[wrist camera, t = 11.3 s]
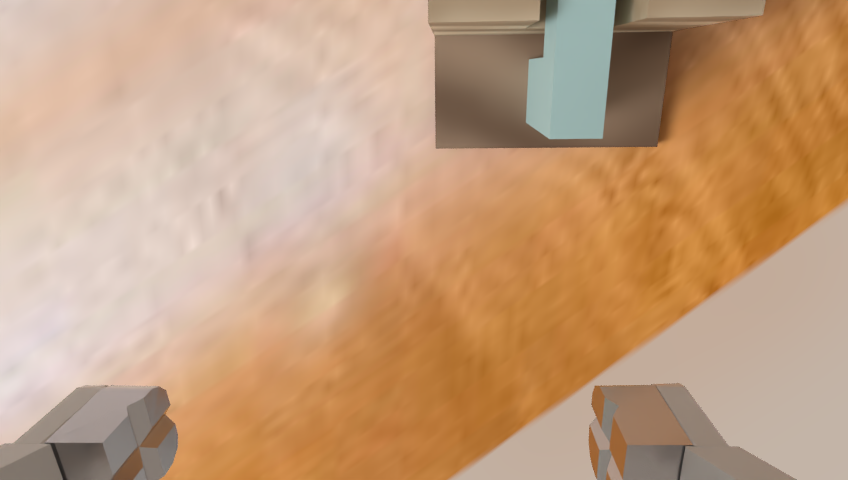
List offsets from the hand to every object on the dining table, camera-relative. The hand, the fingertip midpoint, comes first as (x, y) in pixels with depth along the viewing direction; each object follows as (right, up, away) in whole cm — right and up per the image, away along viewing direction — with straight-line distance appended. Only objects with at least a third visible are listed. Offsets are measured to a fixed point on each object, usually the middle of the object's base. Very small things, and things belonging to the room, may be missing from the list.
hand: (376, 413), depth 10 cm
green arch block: (+8, +16, +20) cm, 27 cm away
